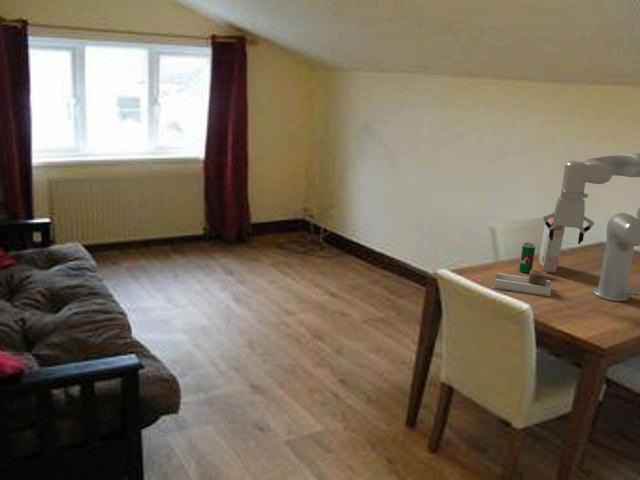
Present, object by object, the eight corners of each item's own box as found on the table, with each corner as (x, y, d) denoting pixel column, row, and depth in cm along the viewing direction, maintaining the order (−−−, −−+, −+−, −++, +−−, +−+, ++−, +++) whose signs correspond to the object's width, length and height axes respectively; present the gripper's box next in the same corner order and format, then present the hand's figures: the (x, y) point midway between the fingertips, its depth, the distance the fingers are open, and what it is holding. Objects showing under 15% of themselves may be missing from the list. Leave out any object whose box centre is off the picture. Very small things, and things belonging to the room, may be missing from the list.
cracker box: (557, 273, 255) (565, 225, 250) (542, 272, 256) (550, 223, 251) (552, 263, 269) (560, 217, 263) (537, 262, 270) (545, 215, 264)
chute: (549, 288, 237) (550, 280, 236) (549, 296, 229) (551, 288, 228) (495, 280, 243) (496, 272, 242) (494, 287, 235) (495, 279, 234)
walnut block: (544, 286, 236) (546, 272, 234) (544, 291, 231) (547, 276, 229) (527, 284, 238) (530, 269, 236) (527, 289, 233) (530, 274, 231)
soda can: (534, 273, 255) (538, 245, 251) (524, 274, 253) (528, 246, 249) (526, 269, 259) (530, 241, 256) (516, 270, 257) (520, 242, 254)
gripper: (597, 196, 223) (590, 241, 228) (546, 191, 229) (540, 236, 233) (598, 200, 216) (591, 247, 221) (546, 195, 222) (540, 241, 226)
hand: (565, 241), depth 227 cm, fingers open, 9 cm apart
